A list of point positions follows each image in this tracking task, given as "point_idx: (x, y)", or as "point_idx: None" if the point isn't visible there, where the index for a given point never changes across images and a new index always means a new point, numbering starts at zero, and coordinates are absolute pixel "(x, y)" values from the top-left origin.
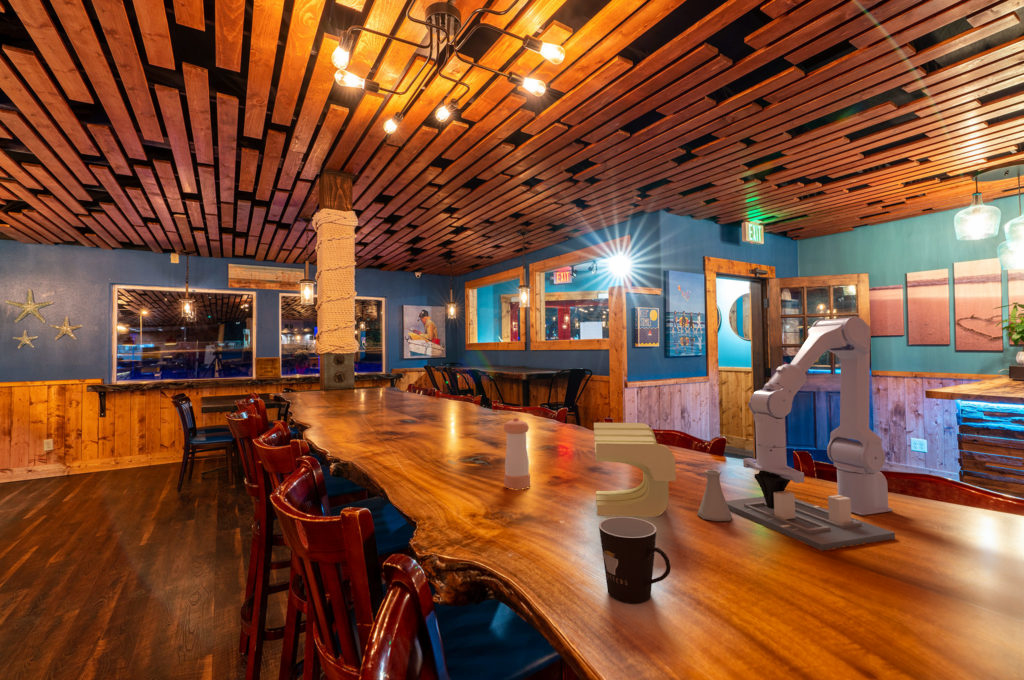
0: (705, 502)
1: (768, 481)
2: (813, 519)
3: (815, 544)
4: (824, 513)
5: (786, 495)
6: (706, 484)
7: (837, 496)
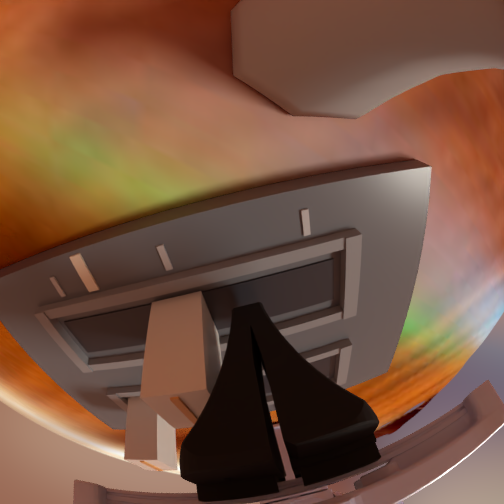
0: None
1: (204, 444)
2: None
3: None
4: None
5: (151, 406)
6: None
7: (158, 466)
